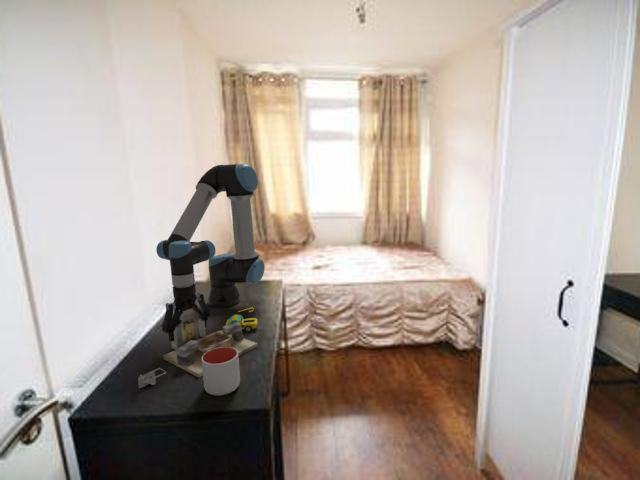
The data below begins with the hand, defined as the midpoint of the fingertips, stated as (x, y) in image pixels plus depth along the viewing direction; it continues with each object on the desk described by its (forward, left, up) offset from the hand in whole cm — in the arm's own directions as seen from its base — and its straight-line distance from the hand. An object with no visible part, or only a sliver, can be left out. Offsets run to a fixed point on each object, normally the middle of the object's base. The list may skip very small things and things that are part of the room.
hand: (189, 342), depth 131 cm
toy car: (-19, +7, -1) cm, 20 cm away
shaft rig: (0, +13, 0) cm, 13 cm away
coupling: (0, 0, 0) cm, 0 cm away
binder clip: (+22, +15, -1) cm, 27 cm away
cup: (+11, +33, 0) cm, 35 cm away
